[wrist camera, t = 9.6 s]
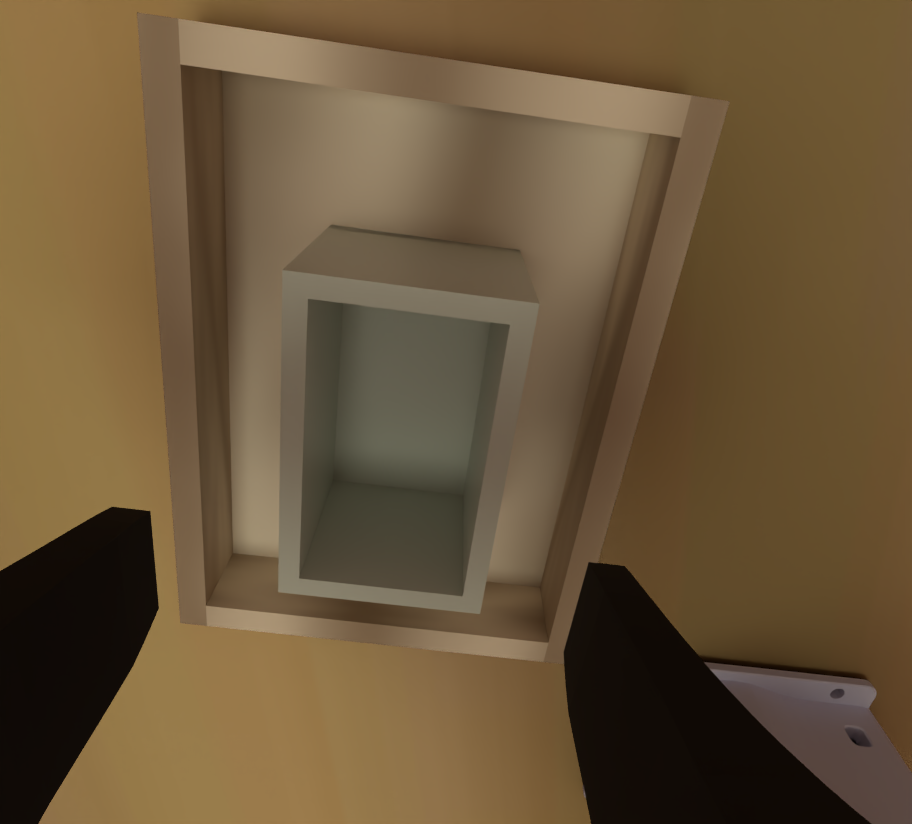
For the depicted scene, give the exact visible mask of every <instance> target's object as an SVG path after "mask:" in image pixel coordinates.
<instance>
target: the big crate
mask: <svg viewBox="0 0 912 824" xmlns="http://www.w3.org/2000/svg"><path fill="white" fill-rule="evenodd" d="M137 19H138V33H139V47H140V61H141V75H142V89H143V103H144V117H145V131H146V145H147V160H148V174H149V188H150V202H151V216H152V230H153V244H154V258H155V272H156V286H157V301H158V315H159V329H160V343H161V357H162V371H163V385H164V399H165V413H166V427H167V442H168V456H169V470H170V484H171V498H172V512H173V526H174V540H175V554H176V568H177V583H178V597H179V611H180V623H185V624H194V625H204V626H213V627H222V628H232V629H241V630H250V631H260V632H269V633H278V634H288V635H297V636H306V637H316V638H325V639H334V640H344V641H353V642H362V643H372V644H381V645H390V646H399V647H409V648H418V649H427V650H437V651H446V652H455V653H465V654H474V655H483V656H493V657H502V658H511V659H521V660H530V661H539V662H549V663H558V664H564V654H563V652H564V649H565V645H566V641H567V638H568V634H569V631H570V627H571V623H572V620H573V616H574V613H575V609H576V605H577V602H578V598H579V595H580V591H581V588H582V584H583V580H584V577H585V573H586V570H587V566H588V562H593V563H598V560H599V557H600V553H601V550H602V546H603V543H604V539H605V536H606V532H607V529H608V525H609V522H610V518H611V515H612V511H613V508H614V504H615V501H616V497H617V494H618V490H619V487H620V483H621V480H622V476H623V473H624V469H625V466H626V462H627V459H628V455H629V452H630V448H631V445H632V441H633V438H634V434H635V431H636V427H637V424H638V420H639V417H640V413H641V410H642V406H643V403H644V399H645V396H646V392H647V389H648V385H649V382H650V378H651V375H652V371H653V368H654V364H655V361H656V357H657V354H658V350H659V347H660V343H661V340H662V336H663V333H664V329H665V326H666V322H667V319H668V315H669V312H670V308H671V305H672V301H673V298H674V294H675V291H676V287H677V284H678V280H679V277H680V273H681V270H682V266H683V263H684V259H685V256H686V252H687V249H688V245H689V242H690V238H691V235H692V231H693V228H694V224H695V221H696V217H697V214H698V210H699V207H700V203H701V200H702V196H703V193H704V189H705V186H706V183H707V179H708V176H709V172H710V169H711V165H712V162H713V158H714V155H715V151H716V148H717V144H718V141H719V137H720V134H721V130H722V127H723V123H724V120H725V116H726V113H727V109H728V106H729V102H730V101H724V100H717V99H711V98H704V97H697V96H691V95H684V94H677V93H671V92H664V91H657V90H651V89H644V88H637V87H631V86H624V85H617V84H611V83H604V82H597V81H591V80H584V79H577V78H571V77H564V76H557V75H551V74H544V73H537V72H531V71H524V70H517V69H511V68H504V67H497V66H491V65H484V64H477V63H471V62H464V61H457V60H451V59H444V58H437V57H430V56H424V55H417V54H410V53H404V52H397V51H390V50H384V49H377V48H370V47H364V46H357V45H350V44H344V43H337V42H330V41H324V40H317V39H310V38H304V37H297V36H290V35H284V34H277V33H270V32H264V31H257V30H250V29H244V28H237V27H230V26H224V25H217V24H210V23H204V22H197V21H190V20H184V19H177V18H170V17H164V16H157V15H150V14H144V13H137ZM330 225H338V226H345V227H353V228H360V229H367V230H375V231H382V232H390V233H397V234H405V235H412V236H419V237H427V238H434V239H442V240H449V241H456V242H464V243H471V244H479V245H486V246H494V247H501V248H508V249H516V250H520V252H521V254H522V257H523V260H524V262H525V265H526V268H527V271H528V273H529V276H530V279H531V282H532V284H533V287H534V290H535V292H536V295H537V298H538V301H539V303H540V304H539V310H538V315H537V320H536V325H535V330H534V336H533V341H532V346H531V351H530V356H529V362H528V367H527V372H526V377H525V383H524V388H523V393H522V398H521V403H520V409H519V414H518V419H517V424H516V429H515V435H514V440H513V445H512V450H511V455H510V461H509V466H508V471H507V476H506V481H505V487H504V492H503V497H502V502H501V507H500V513H499V518H498V523H497V528H496V533H495V539H494V544H493V549H492V554H491V559H490V565H489V570H488V575H487V580H486V586H485V591H484V596H483V601H482V606H481V612H480V614H474V613H465V612H456V611H447V610H438V609H428V608H419V607H410V606H401V605H392V604H382V603H373V602H364V601H355V600H346V599H336V598H327V597H318V596H309V595H300V594H290V593H281V592H278V564H279V489H280V414H281V338H282V270H283V269H284V268H285V267H286V266H287V265H288V264H289V263H290V262H291V261H293V260H294V259H295V258H296V257H297V256H298V255H299V254H300V253H301V252H302V251H303V250H304V249H305V248H306V247H308V246H309V245H310V244H311V243H312V242H313V241H314V240H315V239H316V238H317V237H318V236H319V235H320V234H321V233H323V232H324V231H325V230H326V229H327V228H328V227H329V226H330Z"/></svg>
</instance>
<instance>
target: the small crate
mask: <svg viewBox="0 0 912 824" xmlns="http://www.w3.org/2000/svg"><path fill="white" fill-rule="evenodd" d="M539 304H540V303H539V301H538V298H537V295H536V292H535V290H534V287H533V284H532V282H531V279H530V276H529V273H528V271H527V268H526V265H525V262H524V260H523V257H522V254H521V252H520V250H516V249H508V248H501V247H494V246H486V245H479V244H471V243H464V242H456V241H449V240H442V239H434V238H427V237H419V236H412V235H405V234H397V233H390V232H382V231H375V230H367V229H360V228H353V227H345V226H338V225H330V226H329V227H328V228H327V229H326V230H325V231H324V232H323V233H321V234H320V235H319V236H318V237H317V238H316V239H315V240H314V241H313V242H312V243H311V244H310V245H309V246H308V247H306V248H305V249H304V250H303V251H302V252H301V253H300V254H299V255H298V256H297V257H296V258H295V259H294V260H293V261H291V262H290V263H289V264H288V265H287V266H286V267H285V268H284V269H283V270H282V338H281V414H280V489H279V564H278V592H281V593H290V594H300V595H309V596H318V597H327V598H336V599H346V600H355V601H364V602H373V603H382V604H392V605H401V606H410V607H419V608H428V609H438V610H447V611H456V612H465V613H474V614H480V612H481V606H482V601H483V596H484V591H485V586H486V580H487V575H488V570H489V565H490V559H491V554H492V549H493V544H494V539H495V533H496V528H497V523H498V518H499V513H500V507H501V502H502V497H503V492H504V487H505V481H506V476H507V471H508V466H509V461H510V455H511V450H512V445H513V440H514V435H515V429H516V424H517V419H518V414H519V409H520V403H521V398H522V393H523V388H524V383H525V377H526V372H527V367H528V362H529V356H530V351H531V346H532V341H533V336H534V330H535V325H536V320H537V315H538V310H539Z"/></svg>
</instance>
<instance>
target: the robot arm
mask: <svg viewBox="0 0 912 824" xmlns="http://www.w3.org/2000/svg"><path fill="white" fill-rule="evenodd" d="M158 609H159V606H158V595H157V583H156V572H155V561H154V549H153V538H152V526H151V515H150V511H144V510H135V509H126V508H118V507H111V508H109V509H107V510H105V511H103V512H101V513H99V514H98V515H96V516H94V517H92V518H90V519H89V520H87V521H85V522H83V523H82V524H80V525H78V526H77V527H75V528H73V529H71V530H70V531H68V532H66V533H65V534H63V535H61V536H60V537H58V538H56V539H55V540H53V541H51V542H49V543H48V544H46V545H44V546H43V547H41V548H39V549H38V550H36V551H34V552H32V553H31V554H29V555H27V556H26V557H24V558H22V559H20V560H19V561H17V562H15V563H13V564H12V565H10V566H8V567H6V568H5V569H3V570H1V571H0V824H38V823H39V821H40V819H41V818H42V816H43V814H44V812H45V811H46V809H47V807H48V805H49V803H50V802H51V800H52V799H53V797H54V795H55V794H56V792H57V790H58V789H59V787H60V786H61V784H62V782H63V781H64V779H65V777H66V776H67V774H68V772H69V771H70V769H71V768H72V766H73V764H74V763H75V761H76V759H77V758H78V756H79V754H80V753H81V751H82V750H83V748H84V746H85V745H86V743H87V741H88V740H89V738H90V737H91V735H92V733H93V732H94V730H95V728H96V727H97V725H98V723H99V722H100V720H101V719H102V717H103V715H104V714H105V712H106V710H107V709H108V707H109V705H110V704H111V702H112V700H113V699H114V697H115V695H116V694H117V692H118V690H119V689H120V687H121V685H122V684H123V682H124V680H125V679H126V677H127V675H128V674H129V672H130V670H131V668H132V667H133V665H134V663H135V660H136V658H137V656H138V654H139V652H140V650H141V648H142V645H143V643H144V641H145V639H146V637H147V634H148V632H149V630H150V627H151V625H152V623H153V620H154V618H155V616H156V613H157V611H158ZM563 654H564V667H565V680H566V692H567V702H568V712H569V717H570V723H571V728H572V733H573V738H574V742H575V747H576V752H577V757H578V762H579V767H580V772H581V776H582V781H583V793H584V796H585V798H586V800H587V805H588V810H589V815H590V819H591V824H912V773H911V771H910V770H909V768H908V767H907V765H906V764H905V762H904V761H903V759H902V758H901V756H900V755H899V753H898V752H897V750H896V749H895V747H894V746H893V744H892V743H891V741H890V740H889V738H888V737H887V735H886V734H885V732H884V731H883V729H882V728H881V726H880V725H879V723H878V722H877V720H876V719H875V717H874V715H873V714H872V712H871V711H870V709H869V707H870V705H871V704H872V702H873V700H874V699H875V697H876V694H877V692H876V689H875V688H874V687H873V685H872V684H871V683H870V682H869V681H868V680H864V679H856V678H847V677H837V676H828V675H819V674H810V673H801V672H791V671H782V670H773V669H764V668H755V667H745V666H736V665H727V664H718V663H708V662H703V661H702V659H701V658H700V657H699V656H698V655H697V654H696V653H695V651H694V650H693V649H692V648H691V647H690V645H689V644H688V643H687V642H686V641H685V640H684V638H683V637H682V636H681V635H680V634H679V632H678V631H677V630H676V629H675V628H674V626H673V625H672V624H671V623H670V621H669V620H668V619H667V618H666V617H665V615H664V614H663V613H662V612H661V610H660V609H659V608H658V607H657V605H656V604H655V603H654V602H653V600H652V599H651V598H650V597H649V595H648V594H647V593H646V592H645V590H644V589H643V588H642V587H641V585H640V584H639V583H638V582H637V580H636V579H635V578H634V577H633V576H632V574H631V573H630V572H629V571H628V570H627V568H626V567H625V566H619V565H610V564H602V563H593V562H588V566H587V570H586V573H585V577H584V580H583V584H582V588H581V591H580V595H579V598H578V602H577V605H576V609H575V613H574V616H573V620H572V623H571V627H570V631H569V634H568V638H567V641H566V645H565V649H564V652H563Z"/></svg>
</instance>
